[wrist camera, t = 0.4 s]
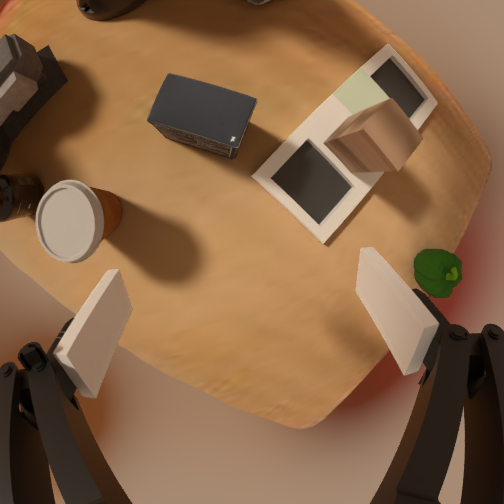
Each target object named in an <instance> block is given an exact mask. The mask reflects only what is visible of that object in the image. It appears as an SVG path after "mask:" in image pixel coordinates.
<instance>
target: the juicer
mask: <svg viewBox="0 0 504 504" xmlns="http://www.w3.org/2000/svg"><path fill="white" fill-rule="evenodd" d="M67 81H68V80H67V79H66V77H65V75H64V73H63V71H62V70H61V68H60V66H59V64H58V62H57V60H56V59H55V57H54V55H53V53H52V51H51V49H50V47H49V45H48V46H46V47H45V48H43V49H41V50H40V51H38V52H36V50H35V48H34V46H32V45H31V44H29V43H28V42H26V41H25V40H23V39H22V38H20V37H18V36H17V35H15V34H12V35H9V36H7V35H6V34H5V35H4V36H3V37H2V38H1V39H0V171H1V169H2V167H3V165H4V163H5V161H6V158H7V155H8V152H9V149H10V145H11V142H12V141H13V140H14V139H15V137H16V136H17V135H18V134H19V132H20V131H21V130H22V129H23V127H24V126H25V125H26V124H27V123H28V121H29V120H30V119H31V118H32V117H33V116H34V115H35V114H36V112H37V111H38V110H39V109H40V108H41V107H42V106H43V105H44V104H45V103H46V102H47V101H48V100H49V99H50V98H51V97H52V96H53V94H55V93H56V92H57V91H58V90H59V89H60V88H61V87H62V86H63V85H64V84H65V83H66V82H67Z"/></svg>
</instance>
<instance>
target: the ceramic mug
mask: <svg viewBox="0 0 504 504" xmlns="http://www.w3.org/2000/svg"><path fill="white" fill-rule="evenodd" d="M247 1H249V2H250V3H253V4H256V5H260V4H264V3H266V2H268V1H270V0H247Z"/></svg>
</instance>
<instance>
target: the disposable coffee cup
mask: <svg viewBox="0 0 504 504" xmlns="http://www.w3.org/2000/svg"><path fill="white" fill-rule="evenodd" d="M121 217H122V207H121V204H120V201H119V199H118V198H117V197H116V196H115V195H114V194H113V193H111V192H109V191H105V190H100V189H96V188H92V187H88V186H87V185H86V184H84V183H82V182H80V181H77V180H64V181H60V182H58V183H57V184H55V185H54V186H52V187H51V188H50V189H49V190H48V191H47V192H46V193H45V195H44V196H43V197H42V199H41V201H40V202H39V205H38V208H37V212H36V231H37V235H38V238H39V241H40V243H41V245H42V246H43V248H44V249H45V250H46V252H47V253H48V254H50V255H51V256H52V257H53V258H55V259H57V260H60V261H64V262H68V263H78V262H81V261H84V260H85V259H87V258H88V257H90V256H91V255H92V254H93V253H94V251H95V250H96V249H97V247H98V246H99V243H100V242H101V241H102V240H103V239H104V238H105V237H107V236H108V235H109V234H110V233H111V232H112V231H113V230H114V229H115V228H116V227H117V226H118V224H119V223H120V220H121Z"/></svg>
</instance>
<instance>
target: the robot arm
mask: <svg viewBox="0 0 504 504" xmlns="http://www.w3.org/2000/svg"><path fill="white" fill-rule="evenodd" d="M145 1H146V0H77V6H78V8H79V10H80V11H81V13H82V14H83V15H84V16H85V17H86V18H88V19H91V20H107V19H111V18H115V17H118V16H120V15H123V14H125V13H127V12H129V11H131V10H133V9H135V8H136V7H138V6H139V5H141V4H142V3H144V2H145ZM355 291H356V293H357V294H358V296H359V298H360V299H361V301H362V303H363V304H364V306H365V308H366V309H367V311H368V313H369V314H370V316H371V318H372V319H373V321H374V323H375V325H376V326H377V328H378V330H379V331H380V333H381V335H382V337H383V338H384V340H385V342H386V344H387V346H388V347H389V349H390V351H391V353H392V354H393V356H394V358H395V360H396V362H397V364H398V366H399V367H400V369H401V371H402V373H403V375H404V376H405V375H408V374H412V373H415V372H418V371H419V369H420V367H421V365H422V363H424V365H425V366H426V370H425V372H424V374H423V376H422V378H421V380H420V382H419V383H418V384H421V386H420V389H419V392H418V395H417V399H416V402H415V405H414V408H413V411H412V414H411V416H410V419H409V422H408V425H407V427H406V430H405V432H404V435H403V437H402V440H401V442H400V445H399V447H398V449H397V452H396V454H395V456H394V458H393V460H392V463H391V465H390V467H389V469H388V471H387V473H386V475H385V477H384V479H383V481H382V483H381V485H380V486H379V488H378V490H377V492H376V494H375V496H374V497H373V499H372V501H371V503H370V504H441V503H440V502H439V501H438V496H439V493H440V490H441V487H442V485H443V482H444V479H445V476H446V473H447V470H448V467H449V464H450V461H451V458H452V454H453V451H454V447H455V443H456V439H457V434H458V431H459V426H460V421H461V417H462V411H463V406H464V419H465V462H464V463H465V464H464V477H463V487H462V496H461V503H460V504H504V331H503V330H502V329H501V328H500V327H499V326H497V325H494V324H487V325H485V326H484V328H483V330H482V332H481V333H476V334H475V333H472V334H469V332H468V331H467V330H466V329H465V328H464V327H462V326H460V325H456V324H450V323H449V322H448V321H447V319H446V318H445V317H444V316H443V315H442V313H441V312H440V311H439V310H438V309H437V307H435V305H434V304H433V303H432V302H431V301H430V299H429V298H428V297H427V296H426V295H425V294H424V293H423V292H421V291H419V290H418V289H412V290H411V289H410V287H409V286H408V285H407V284H406V283H405V282H404V280H403V279H402V278H401V277H400V276H399V275H398V274H397V273H396V271H395V270H394V269H393V268H392V267H391V266H390V265H389V264H388V263H387V262H386V260H385V259H384V258H383V257H382V256H381V255H380V254H379V253H378V252H377V251H376V250H375V249H374V248H373V247H367V248H361V249H360V258H359V266H358V274H357V282H356V289H355ZM132 310H133V308H132V305H131V303H130V300H129V297H128V294H127V291H126V288H125V285H124V282H123V279H122V276H121V273H120V270H119V269H112V270H107V272H106V273H105V274H104V276H103V277H102V278H101V280H100V281H99V283H98V284H97V285H96V287H95V288H94V290H93V291H92V293H91V294H90V296H89V297H88V298H87V300H86V301H85V303H84V304H83V306H82V307H81V309H80V310H79V312H78V313H77V315H76V317H75V318H72V319H70V320H69V321H68V322H67V323H66V324H65V325H64V327H63V328H62V330H61V332H60V333H59V335H58V336H57V338H56V339H55V341H54V343H53V344H52V346H51V348H50V349H49V351H48V353H47V354H45V352H44V351H43V349H42V347H41V346H40V344H39V343H37V342H31V343H28V344H27V345H25V346H24V347H23V348H22V349H21V350H20V352H19V353H18V359H19V361H20V362H21V364H22V365H23V367H24V368H25V369H21V370H19V369H18V368H17V366H16V365H15V363H13V362H8V363H5V364H3V365H2V366H1V368H0V504H55V499H54V494H53V489H52V484H51V477H50V471H49V464H50V467H51V470H52V473H53V475H54V478H55V480H56V482H57V485H58V487H59V489H60V492H61V494H62V496H63V499H64V501H65V503H66V504H132V502H131V501H130V499H129V498H128V496H127V495H126V493H125V492H124V490H123V489H122V487H121V485H120V484H119V482H118V481H117V479H116V477H115V476H114V474H113V472H112V471H111V469H110V467H109V465H108V463H107V462H106V460H105V458H104V456H103V454H102V452H101V451H100V448H99V446H98V444H97V443H96V440H95V438H94V436H93V434H92V432H91V430H90V428H89V425H88V423H87V421H86V419H85V416H84V414H83V412H82V409H81V407H80V404H79V402H78V399H77V398H76V396H75V395H74V393H75V390H76V388H77V389H78V391H79V392H80V394H81V395H82V396H84V397H91V398H96V397H97V394H98V392H99V389H100V386H101V384H102V381H103V378H104V376H105V373H106V371H107V368H108V365H109V363H110V360H111V358H112V356H113V353H114V351H115V348H116V346H117V344H118V342H119V339H120V337H121V335H122V332H123V330H124V328H125V326H126V323H127V321H128V319H129V317H130V314H131V312H132ZM19 406H20V407H21V412H20V410H19ZM48 461H49V463H48Z"/></svg>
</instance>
